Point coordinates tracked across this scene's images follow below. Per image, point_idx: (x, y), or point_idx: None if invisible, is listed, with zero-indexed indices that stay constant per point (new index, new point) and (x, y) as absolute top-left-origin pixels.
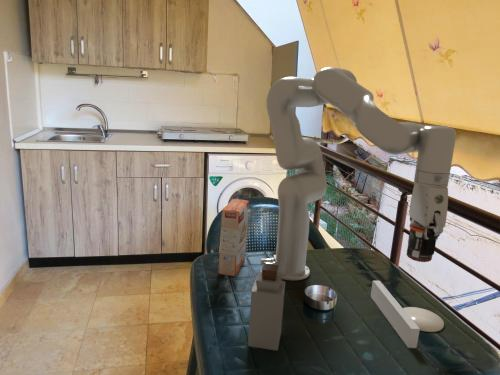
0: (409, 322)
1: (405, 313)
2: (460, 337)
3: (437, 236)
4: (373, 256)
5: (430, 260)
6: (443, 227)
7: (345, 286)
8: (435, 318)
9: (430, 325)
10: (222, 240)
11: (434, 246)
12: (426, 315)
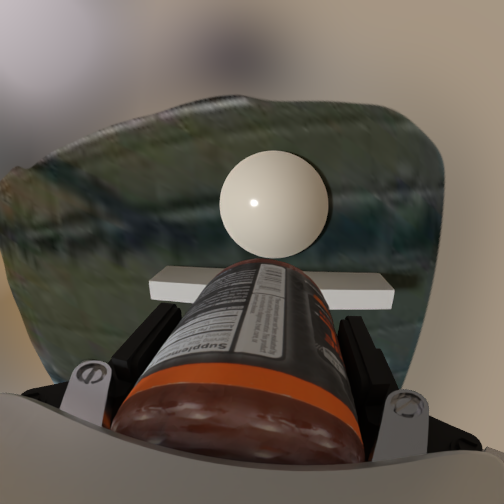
0: (368, 302)
1: (329, 293)
2: (348, 146)
3: (456, 435)
4: (12, 196)
5: (314, 283)
6: (490, 459)
7: (133, 317)
8: (275, 166)
9: (308, 198)
10: None
11: (372, 349)
12: (260, 183)
